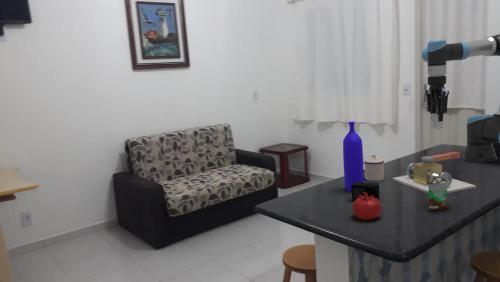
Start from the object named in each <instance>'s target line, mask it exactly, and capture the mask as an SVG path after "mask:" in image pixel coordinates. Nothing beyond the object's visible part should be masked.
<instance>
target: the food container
mask: <svg viewBox="0 0 500 282" xmlns="http://www.w3.org/2000/svg"><path fill="white" fill-rule="evenodd" d="M449 187H450V185H449V182H448V180H447V179H446V178H443V177H438V176H433V180H432V181H431V184H429V186H428V190H429V193H428V211H441V210H445V209H446V208H447V200H448V198H447V197H448V193H447V188H449Z"/></svg>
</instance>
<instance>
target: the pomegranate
mask: <svg viewBox="0 0 500 282" xmlns="http://www.w3.org/2000/svg"><path fill="white" fill-rule="evenodd" d="M359 196H360V197H359V198H358V199H356V200H355V201H353V204H352V209H351V210H352V213H353V215H354V216H355V218H356V219H359V220H362V221H370V220H374V219H376V218H378V217H380V215H381V213H382V211H383V210H382V209H383V207H382V204H381V202H380V200H378V199H376V198H374V197H372V196H370V197H367V193H366V192H364V197H363V196H361V195H359Z"/></svg>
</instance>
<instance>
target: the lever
mask: <svg viewBox="0 0 500 282" xmlns="http://www.w3.org/2000/svg"><path fill="white" fill-rule="evenodd" d="M460 158H461V152H457V151H450V152H449V151H448V152H446V153H443V154H440V153H439V154H436V155H434V154H433V155H429V156H428V155H425V156H421V159H420V160H421V162H423V163H432V162H433V163H435V162H438V161H439V162H440V161H445V160H454V159H456V160H457V159H460Z"/></svg>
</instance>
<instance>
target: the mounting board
mask: <svg viewBox="0 0 500 282" xmlns="http://www.w3.org/2000/svg"><path fill="white" fill-rule="evenodd" d="M392 181H394V182H396V183H399V184H402V185H404V186H408V187H411V188H413V189H416V190H418V191H421V192H424V193H427V194H429V190H428V186H425V185H422V184H420V183H417V182H414V178H412V177H409V176H407V174H406V175H401V176H396V177H392ZM472 188H473V189H476V188H477V185H475V184H471V183H469V182H465V181H461V180H460V179H459V180H458V179H456V178H452V182H451V184H450V187H449V188H447V194H451V193H457V192H461V191H462V192H463V191H465V190H472Z"/></svg>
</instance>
